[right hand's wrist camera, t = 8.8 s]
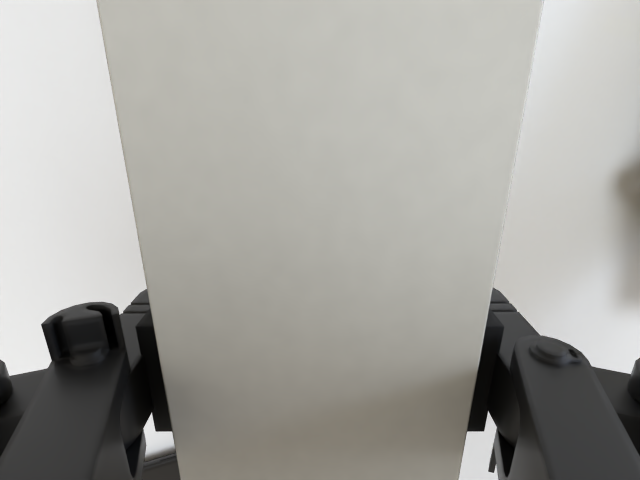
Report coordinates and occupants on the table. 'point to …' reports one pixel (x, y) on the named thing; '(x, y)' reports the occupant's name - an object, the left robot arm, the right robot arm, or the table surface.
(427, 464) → the bar
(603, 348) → the table surface
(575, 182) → the table surface
